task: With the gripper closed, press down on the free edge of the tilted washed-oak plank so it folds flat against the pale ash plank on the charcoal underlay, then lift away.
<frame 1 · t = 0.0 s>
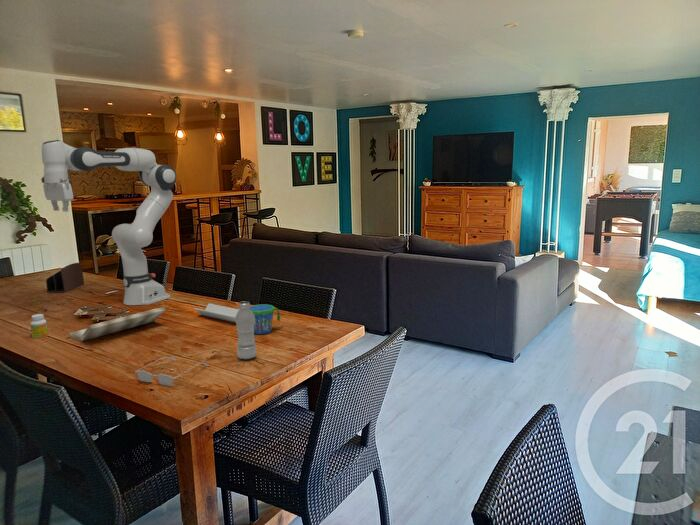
hand: (61, 211, 215), 48 cm above the table, tool pointing down, fingers open, 8 cm apart
floor panel: (122, 334, 199), on the table
snack cup: (262, 332, 199), on the table
supplement bottle: (40, 339, 195), on the table
z bracket: (224, 318, 218), on the table
loose plank: (124, 323, 196), point 5 cm above the table, hinge at 35.0°
letter holder: (66, 289, 279), on the table
eyeglasses: (174, 374, 161), on the table
plastic bottle: (247, 358, 171), on the table
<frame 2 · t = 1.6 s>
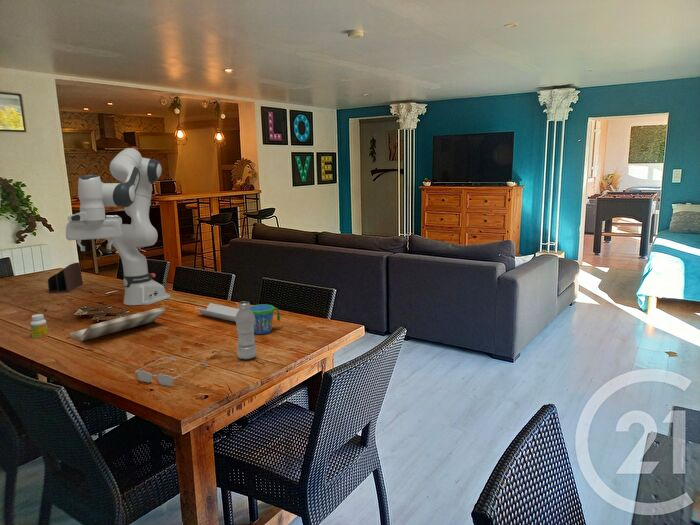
hand: (96, 250, 200), 33 cm above the table, tool pointing down, fingers open, 8 cm apart
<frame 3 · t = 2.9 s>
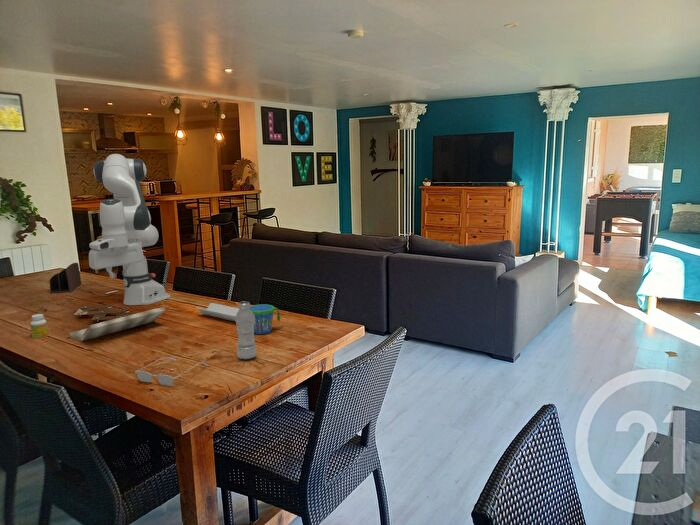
hand: (119, 276, 193), 24 cm above the table, tool pointing down, fingers open, 4 cm apart
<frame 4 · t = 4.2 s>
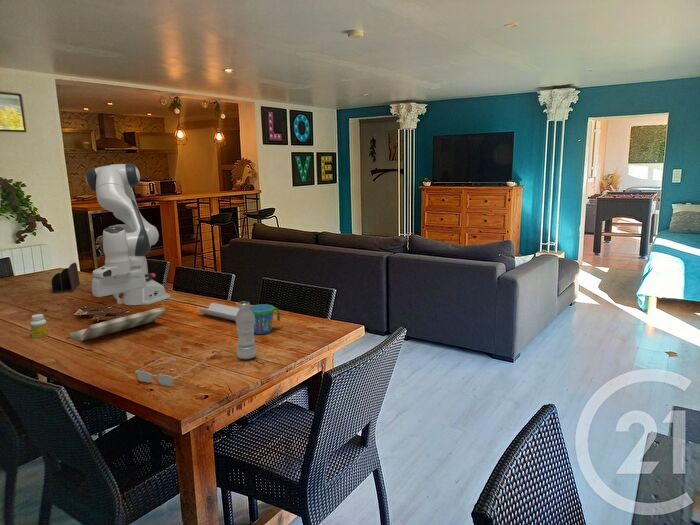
hand: (121, 303, 195), 13 cm above the table, tool pointing down, fingers closed
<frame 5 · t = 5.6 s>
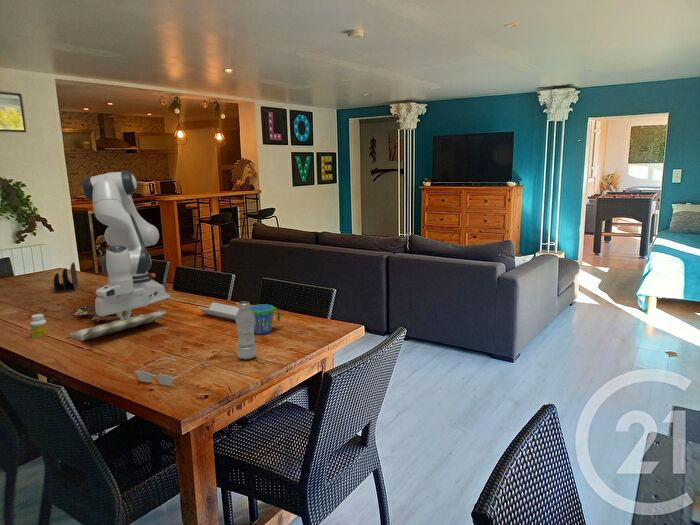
hand: (124, 321, 196), 6 cm above the table, tool pointing down, fingers closed, pressing on loose plank
loose plank: (125, 324, 196), point 5 cm above the table, hinge at 27.9°, touching gripper
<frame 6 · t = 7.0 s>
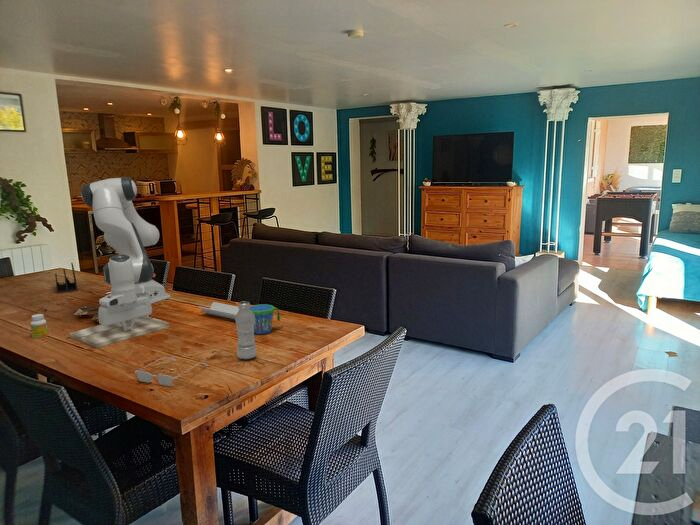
hand: (128, 330, 195), 3 cm above the table, tool pointing down, fingers closed, pressing on loose plank
loose plank: (127, 331, 196), point 2 cm above the table, hinge at 0.0°, touching gripper
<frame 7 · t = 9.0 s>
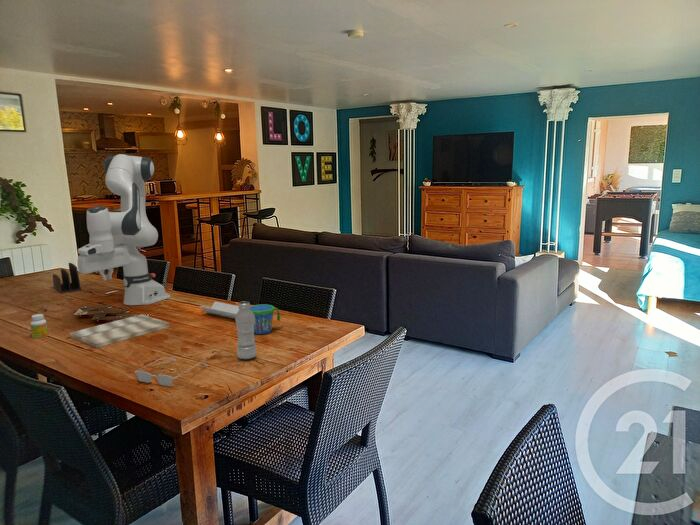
hand: (107, 279, 204), 21 cm above the table, tool pointing down, fingers closed
loose plank: (127, 331, 196), point 2 cm above the table, hinge at 0.0°
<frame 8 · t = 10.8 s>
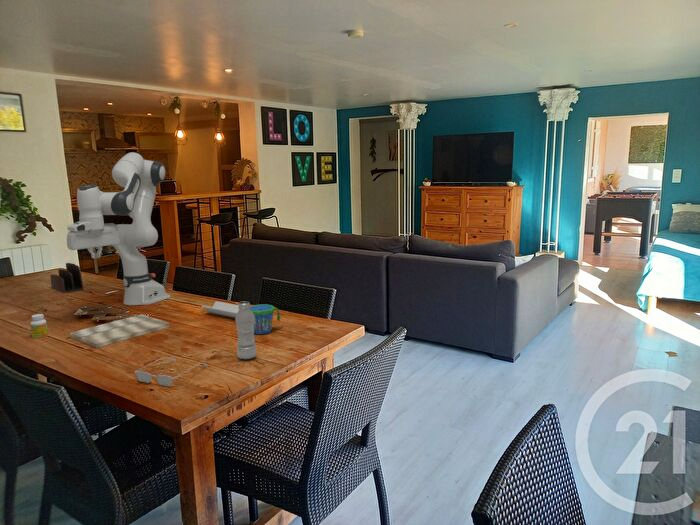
hand: (96, 257, 207), 29 cm above the table, tool pointing down, fingers closed
at the end: loose plank at +0° (first picture: +35°); the gripper is holding nothing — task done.
